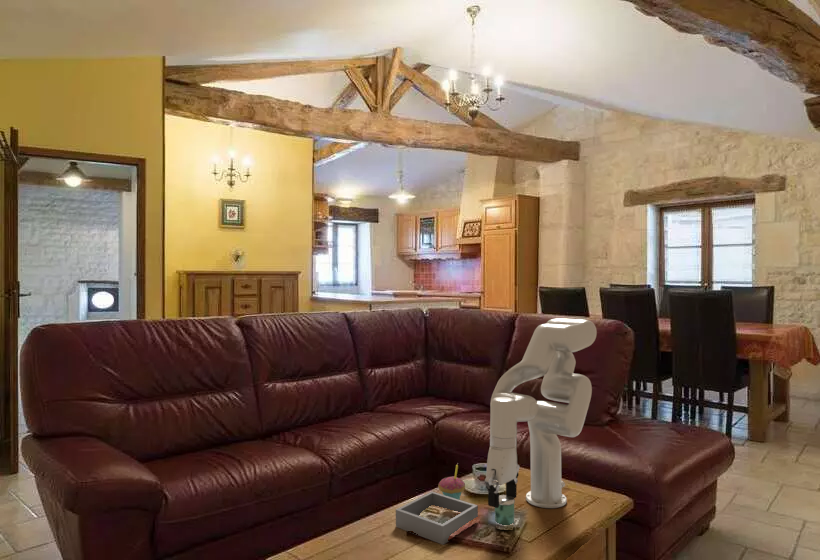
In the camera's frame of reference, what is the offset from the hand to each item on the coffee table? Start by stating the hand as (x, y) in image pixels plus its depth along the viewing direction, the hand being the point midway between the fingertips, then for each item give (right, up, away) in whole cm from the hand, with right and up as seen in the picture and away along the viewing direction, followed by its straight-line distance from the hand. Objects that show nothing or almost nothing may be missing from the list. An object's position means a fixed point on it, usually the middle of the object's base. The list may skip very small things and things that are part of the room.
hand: (502, 501), depth 161 cm
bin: (-19, -8, +3) cm, 20 cm away
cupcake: (-13, -8, +20) cm, 25 cm away
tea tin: (+1, -8, +1) cm, 8 cm away
